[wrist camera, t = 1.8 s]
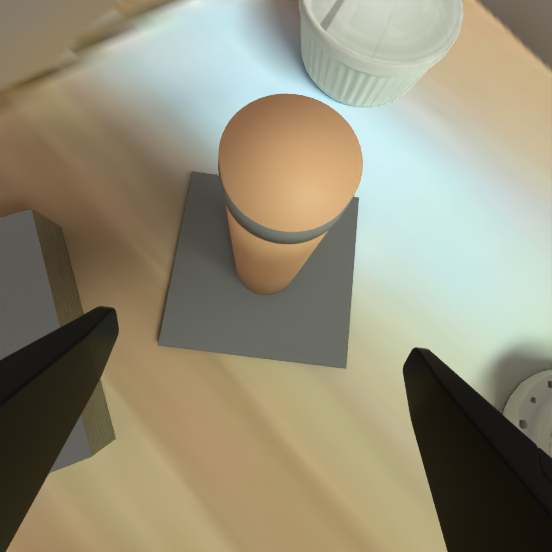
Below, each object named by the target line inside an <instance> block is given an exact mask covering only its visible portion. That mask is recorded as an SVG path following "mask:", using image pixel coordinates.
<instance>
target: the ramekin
mask: <svg viewBox="0 0 552 552" xmlns="http://www.w3.org/2000/svg"><path fill="white" fill-rule="evenodd" d="M462 5H463V2H462V0H299V9H300V14H301V52H302V57H303V62H304V65H305V68H306V71H307V72H308V74H309V76H310V77H311V79H312V80H313V81H314V83H315V84H316V85H317V86H318V87H319V88H320V89H321V90H322V91H323V92H324V93H325V94H326V95H328V96H329V97H331V98H333V99H335V100H336V101H338V102H341V103H343V104H346V105H350V106H354V107H376V106H381V105H386V104H388V103H391V102H393V101H395V100H397V99H399V98H400V97H401V96H403V95H404V94H406V93H407V92H408V91H409V90H410V89H411V88H412V87H413V86H414V85H415V84H416V82H417V81H418V80H419V79H420V78H421V77H422V76H423V75H424V74H425V73H426V72H427V71H428V70H429V68H430V67H432V66H433V65H435V64H436V63H437V62H439V61H440V60H441V59H442V58H443V57H444V56H445V55H446V53H447V52H448V51H449V49H450V48H451V46H452V45H453V43H454V42H455V40H456V38H457V37H458V35H459V32H460V29H461V25H462V20H463V7H462Z"/></svg>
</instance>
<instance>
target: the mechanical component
mask: <svg viewBox="0 0 552 552" xmlns="http://www.w3.org/2000/svg"><path fill="white" fill-rule="evenodd" d="M503 415H504V416H505V417H506V418H507V419H508V420H509V421H510V422H511V423H513V424H514V425H515V426H516V427H517V428H518V429H519V430H521V431H522V432H523V433H524V434H525V435H526V436H527V437H528V438H530V439H531V440H532V441H533V442H534V443H535V444H536V445H537V447H539V448H541V449H542V450H543V451H544V452H546V453H547V454H548V455H549V456H550V457H551V458H552V370H546V371H542V372H539V373H536V374H534V375H533V376H531V377H529V378H528V379H526V380H525V381H523V382H521V383H520V385H519V386H518V387H517V388H516V390H515V391H514V392H513V393H512V395H511V396H510V397H509V400H508V402H507V404H506V406H505V408H504V411H503Z"/></svg>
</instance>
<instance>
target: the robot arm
mask: <svg viewBox="0 0 552 552" xmlns="http://www.w3.org/2000/svg"><path fill="white" fill-rule="evenodd" d="M118 332H119V327H118V321H117V315H116V310H115V309H114V308H112V307H104V306H99V307H97V308H95V309H93V310H91V311H89V312H87V313H86V314H84V315H82V316H80V317H78V318H76V319H75V320H73V321H71V322H69V323H67V324H65V325H63V326H62V327H60V328H58V329H56V330H54V331H52V332H51V333H49V334H47V335H45V336H43V337H41V338H40V339H38V340H36V341H34V342H32V343H30V344H29V345H27V346H25V347H23V348H21V349H19V350H17V351H16V352H14V353H12V354H10V355H8V356H6V357H5V358H3V359H1V360H0V552H6V550H7V548H8V547H9V545H10V543H11V541H12V539H13V538H14V536H15V534H16V532H17V530H18V528H19V527H20V525H21V523H22V521H23V519H24V518H25V516H26V514H27V512H28V510H29V508H30V507H31V505H32V503H33V501H34V499H35V498H36V496H37V494H38V492H39V490H40V488H41V487H42V485H43V483H44V481H45V479H46V478H47V476H48V474H49V472H50V470H51V468H52V467H53V465H54V463H55V461H56V459H57V458H58V456H59V454H60V452H61V450H62V448H63V447H64V445H65V443H66V441H67V439H68V438H69V436H70V434H71V432H72V430H73V428H74V427H75V425H76V423H77V421H78V419H79V417H80V416H81V414H82V412H83V410H84V408H85V407H86V405H87V403H88V401H89V399H90V397H91V396H92V394H93V392H94V390H95V388H96V386H97V384H98V382H99V380H100V378H101V376H102V373H103V371H104V368H105V366H106V363H107V361H108V358H109V356H110V354H111V351H112V349H113V346H114V344H115V341H116V339H117V336H118ZM403 376H404V382H405V388H406V394H407V400H408V406H409V412H410V417H411V421H412V425H413V429H414V433H415V436H416V440H417V443H418V447H419V451H420V454H421V458H422V461H423V465H424V469H425V472H426V476H427V479H428V483H429V486H430V490H431V494H432V497H433V501H434V504H435V508H436V512H437V515H438V519H439V522H440V526H441V530H442V533H443V537H444V540H445V544H446V548H447V551H448V552H552V458H551V457H550V456H549V455H548V454H547V453H546V452H544V451H543V450H542V449H541V448H539V447H537V445H536V444H535V443H534V442H533V441H532V440H531V439H530V438H528V437H527V436H526V435H525V434H524V433H523V432H522V431H521V430H519V429H518V428H517V427H516V426H515V425H514V424H513V423H511V422H510V421H509V420H508V419H507V418H506V417H505V416H504V415H502V414H501V413H500V412H499V411H498V410H497V409H496V408H495V407H493V406H492V405H491V404H490V403H489V402H488V401H487V400H485V399H484V398H483V397H482V396H481V395H480V394H479V393H478V392H476V391H475V390H474V389H473V388H472V387H471V386H470V385H468V384H467V383H466V382H465V381H464V380H463V379H462V378H461V377H459V376H458V375H457V374H456V373H455V372H454V371H453V370H452V369H450V368H449V367H448V366H447V365H446V364H445V363H444V362H442V361H441V360H440V359H439V358H438V357H437V356H436V355H435V354H433V353H432V352H431V351H430V350H428V349H426V348H418V347H416V348H413V349H412V351H411V353H410V354H409V356H408V358H407V360H406V362H405V363H404V366H403Z"/></svg>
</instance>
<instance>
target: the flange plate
mask: <svg viewBox="0 0 552 552" xmlns="http://www.w3.org/2000/svg"><path fill="white" fill-rule="evenodd" d="M82 315H83V311H82V307H81V303H80V299H79V295H78V291H77V287H76V284H75V280H74V276H73V272H72V268H71V264H70V260H69V256H68V252H67V249H66V245H65V241H64V237H63V233H62V229H61V227H60V226H58V225H57V224H55V223H53V222H52V221H50V220H49V219H47V218H45V217H44V216H42V215H40V214H39V213H37V212H36V211H34V210H32V209H29V210H25V211H22V212H18V213H14V214H11V215H7V216H3V217H0V360H1V359H3V358H5V357H6V356H8V355H10V354H12V353H14V352H16V351H17V350H19V349H21V348H23V347H25V346H27V345H29V344H30V343H32V342H34V341H36V340H38V339H40V338H41V337H43V336H45V335H47V334H49V333H51V332H52V331H54V330H56V329H58V328H60V327H62V326H63V325H65V324H67V323H69V322H71V321H73V320H75V319H76V318H78V317H80V316H82ZM113 440H115V436H114V432H113V428H112V424H111V420H110V416H109V412H108V408H107V404H106V400H105V397H104V393H103V389H102V385H101V381H100V380H99V382H98V384H97V386H96V388H95V390H94V392H93V394H92V396H91V397H90V399H89V401H88V403H87V405H86V407H85V408H84V410H83V412H82V414H81V416H80V417H79V419H78V421H77V423H76V425H75V427H74V428H73V430H72V432H71V434H70V436H69V438H68V439H67V441H66V443H65V445H64V447H63V448H62V450H61V452H60V454H59V456H58V458H57V459H56V461H55V463H54V465H53V467H52V468H51V470H50V472H49V473H51V472H53V471H56V470H59V469H61V468H64V467H66V466H69V465H71V464H74V463H76V462H79V461H81V460H84V459H87V458H89V457H92V456H93V455H94V454H96V453H97V452H98V451H100V450H101V449H102V448H104V447H105V446H106V445H108V444H109V443H111V442H112V441H113Z"/></svg>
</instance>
